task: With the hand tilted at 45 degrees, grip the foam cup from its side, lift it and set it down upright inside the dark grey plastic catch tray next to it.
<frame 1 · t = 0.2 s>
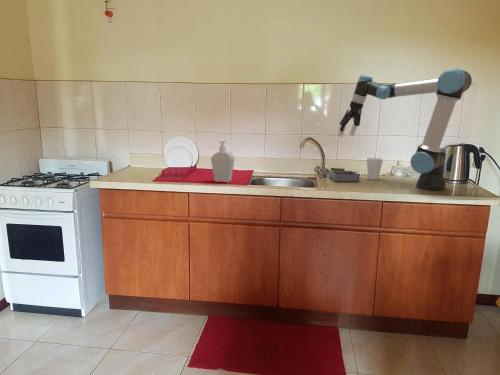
hand: (345, 135, 233), 27 cm above the table, tool tilted 15°, fingers open, 13 cm apart
soap bottle: (223, 181, 231), on the table
catch tray: (343, 180, 237), on the table
foam cup: (373, 179, 241), on the table
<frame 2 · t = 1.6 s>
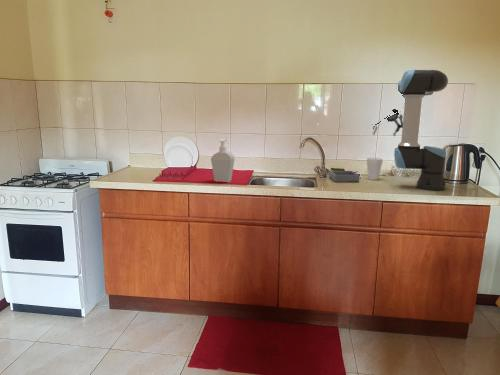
hand: (383, 134, 243), 28 cm above the table, tool tilted 45°, fingers open, 13 cm apart
nothing on the table moved.
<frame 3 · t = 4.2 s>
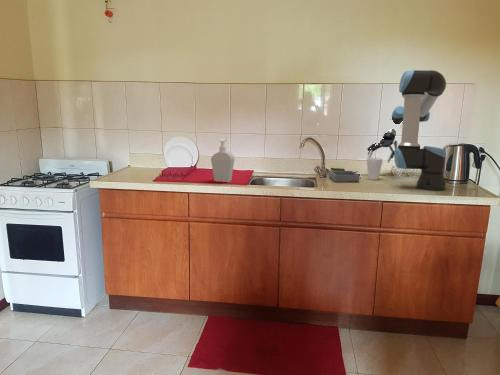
hand: (377, 160, 244), 11 cm above the table, tool tilted 45°, fingers open, 13 cm apart
nothing on the table moved.
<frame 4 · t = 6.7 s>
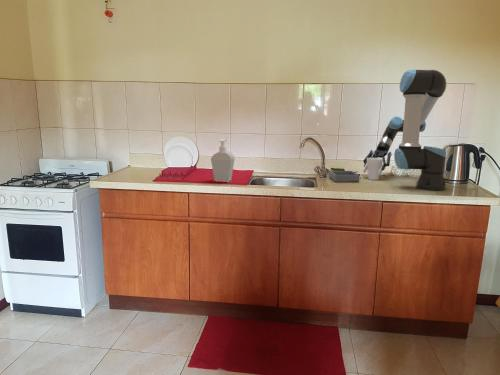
hand: (371, 172, 238), 4 cm above the table, tool tilted 45°, fingers closed on foam cup, 9 cm apart
foam cup: (373, 179, 242), on the table, touching gripper
everything else where it was.
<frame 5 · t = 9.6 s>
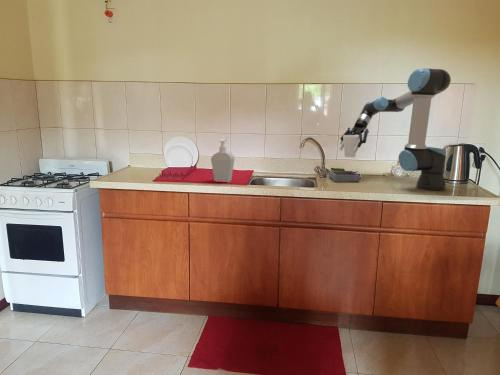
hand: (347, 150, 234), 19 cm above the table, tool tilted 45°, fingers closed on foam cup, 9 cm apart
foam cup: (349, 156, 237), point 14 cm above the table, touching gripper
everything else where it was.
when the fingers open (7 cm above the table, at t = 12.7 s): foam cup drops 1 cm, resting on catch tray.
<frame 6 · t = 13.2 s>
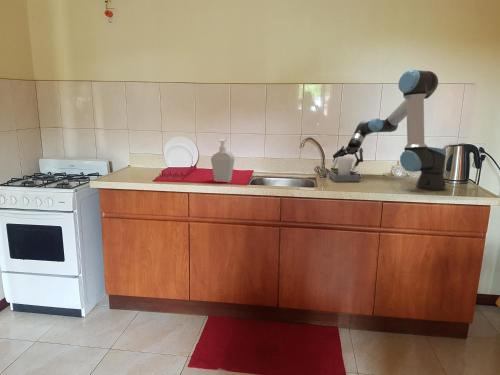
hand: (342, 168, 234), 8 cm above the table, tool tilted 45°, fingers open, 13 cm apart
foam cup: (343, 178, 237), point 1 cm above the table, touching catch tray
everything else where it was.
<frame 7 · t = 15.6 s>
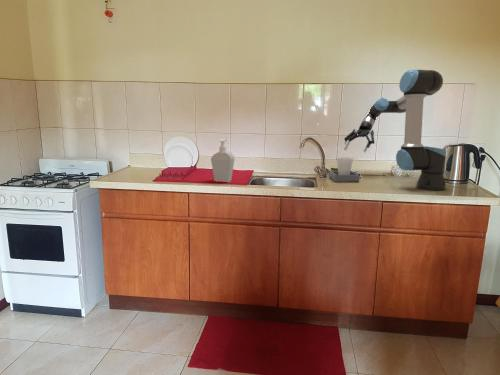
hand: (354, 150, 241), 18 cm above the table, tool tilted 45°, fingers open, 13 cm apart
nothing on the table moved.
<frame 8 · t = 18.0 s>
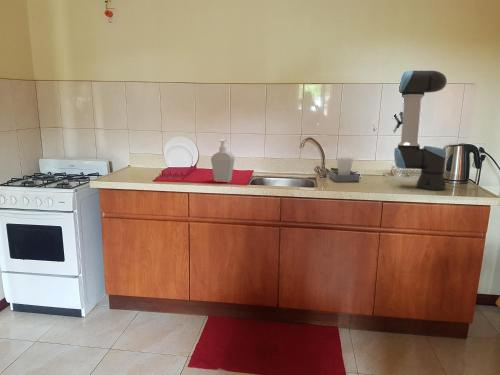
hand: (383, 130, 245), 30 cm above the table, tool tilted 45°, fingers open, 13 cm apart
nothing on the table moved.
at the end: foam cup inside the target area on the catch tray (0.2 cm from its centre), point 0.8 cm above the catch tray's base; foam cup tilted 0°; the gripper is holding nothing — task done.
